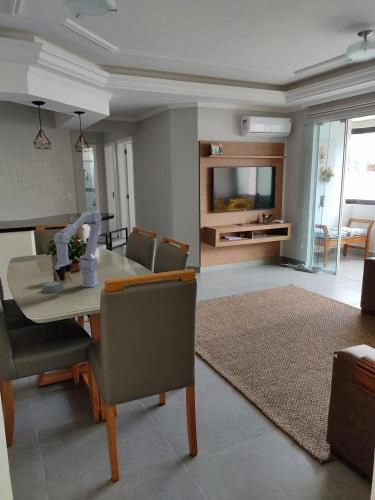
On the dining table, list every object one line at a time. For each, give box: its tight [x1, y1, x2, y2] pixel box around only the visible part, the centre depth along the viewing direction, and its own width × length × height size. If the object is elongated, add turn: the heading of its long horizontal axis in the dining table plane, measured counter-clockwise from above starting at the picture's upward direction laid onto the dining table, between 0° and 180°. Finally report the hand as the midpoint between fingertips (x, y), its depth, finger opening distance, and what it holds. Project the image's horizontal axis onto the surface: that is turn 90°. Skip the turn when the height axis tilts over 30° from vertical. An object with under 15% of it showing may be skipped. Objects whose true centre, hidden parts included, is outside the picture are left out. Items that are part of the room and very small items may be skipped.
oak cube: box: [58, 271, 72, 284], centre depth 196 cm, size 5×5×5 cm
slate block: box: [41, 280, 65, 294], centre depth 205 cm, size 8×8×4 cm
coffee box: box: [51, 255, 58, 282], centre depth 221 cm, size 9×6×16 cm
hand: (64, 279), depth 196 cm, fingers closed on oak cube, 5 cm apart
